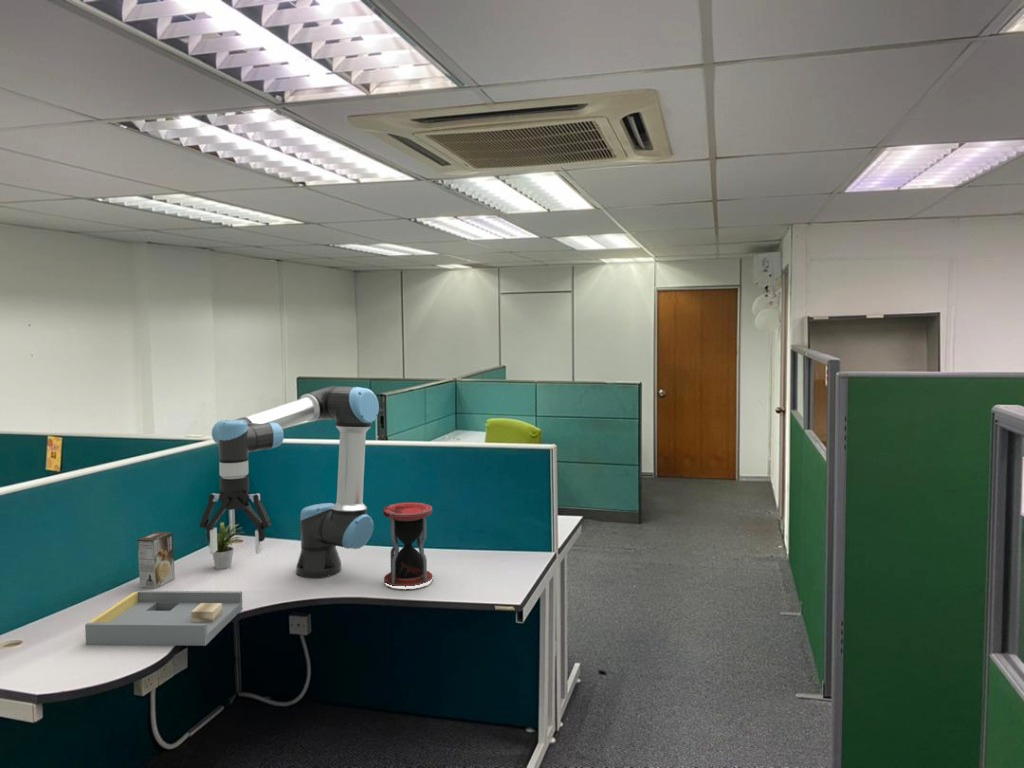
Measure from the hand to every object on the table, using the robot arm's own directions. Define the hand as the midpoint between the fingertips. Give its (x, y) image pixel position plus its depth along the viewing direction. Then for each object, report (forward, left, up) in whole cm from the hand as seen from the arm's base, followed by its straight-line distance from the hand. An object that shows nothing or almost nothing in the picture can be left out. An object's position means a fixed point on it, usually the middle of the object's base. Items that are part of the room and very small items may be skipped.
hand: (236, 552), depth 192 cm
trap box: (+20, 0, -21) cm, 29 cm away
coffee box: (+41, -33, -22) cm, 57 cm away
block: (+9, 0, -19) cm, 21 cm away
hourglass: (-42, -36, -22) cm, 59 cm away
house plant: (+26, -48, -22) cm, 59 cm away
